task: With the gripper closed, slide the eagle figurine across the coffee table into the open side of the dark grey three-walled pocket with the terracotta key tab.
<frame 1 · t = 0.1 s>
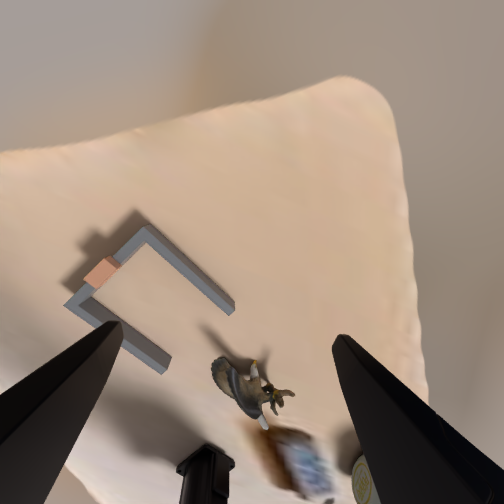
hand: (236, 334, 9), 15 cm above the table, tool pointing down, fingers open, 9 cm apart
pocket: (162, 302, 24), on the table
air freshener: (371, 458, 36), on the table
eagle figurine: (246, 370, 28), on the table
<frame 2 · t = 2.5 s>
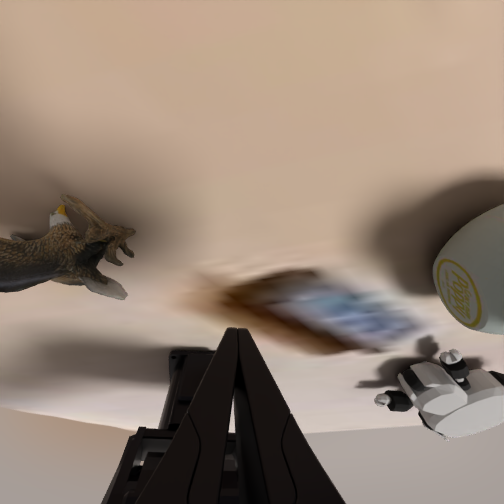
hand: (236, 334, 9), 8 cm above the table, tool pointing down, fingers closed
air freshener: (473, 248, 17), on the table
eagle figurine: (79, 234, 15), on the table
robot toy: (431, 374, 27), on the table
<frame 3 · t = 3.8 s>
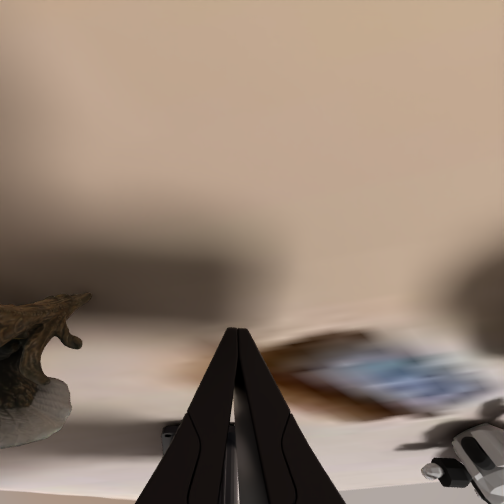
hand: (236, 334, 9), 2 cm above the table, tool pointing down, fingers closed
eagle figurine: (8, 299, 10), on the table
robot toy: (487, 432, 22), on the table
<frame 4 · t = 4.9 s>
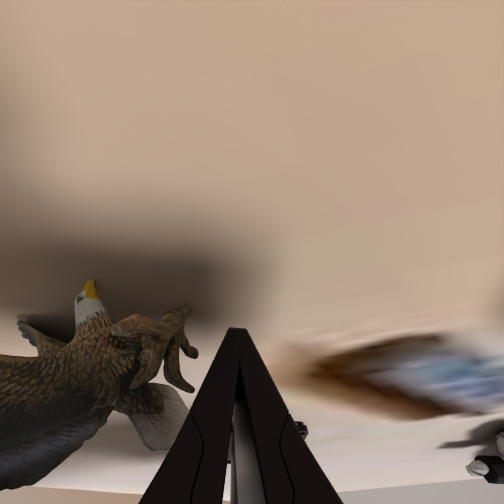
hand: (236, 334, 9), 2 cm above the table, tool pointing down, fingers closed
eagle figurine: (112, 311, 11), on the table, touching gripper
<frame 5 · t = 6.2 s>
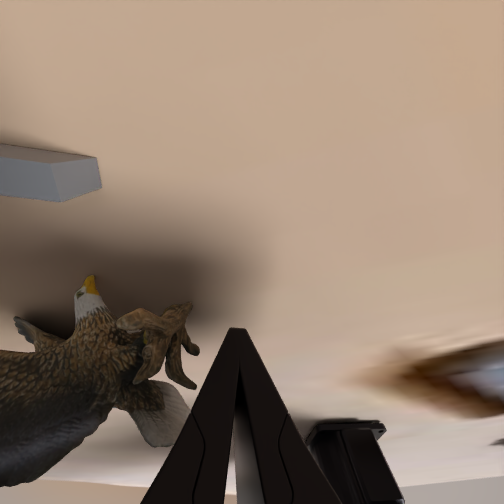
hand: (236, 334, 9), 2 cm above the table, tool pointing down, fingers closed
eagle figurine: (112, 308, 10), on the table, touching gripper, pocket
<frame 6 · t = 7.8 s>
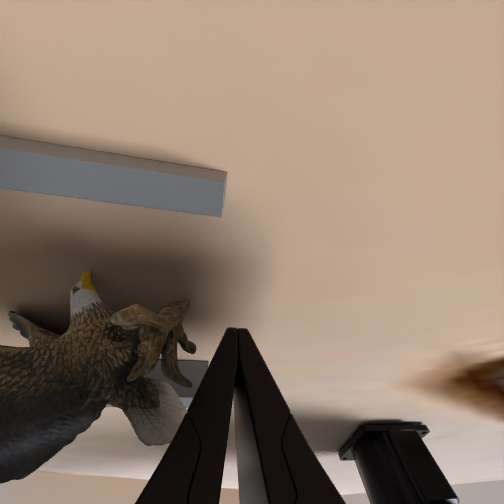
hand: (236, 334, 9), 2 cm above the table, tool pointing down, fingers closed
pocket: (82, 289, 9), on the table
eagle figurine: (108, 304, 10), on the table
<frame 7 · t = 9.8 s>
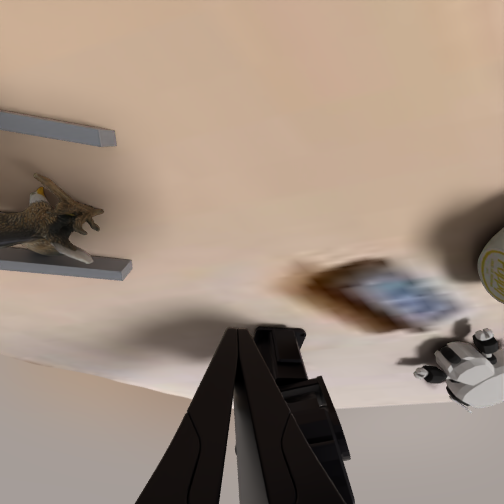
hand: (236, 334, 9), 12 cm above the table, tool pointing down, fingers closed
pocket: (46, 200, 17), on the table
eagle figurine: (57, 212, 18), on the table
robot toy: (459, 354, 32), on the table
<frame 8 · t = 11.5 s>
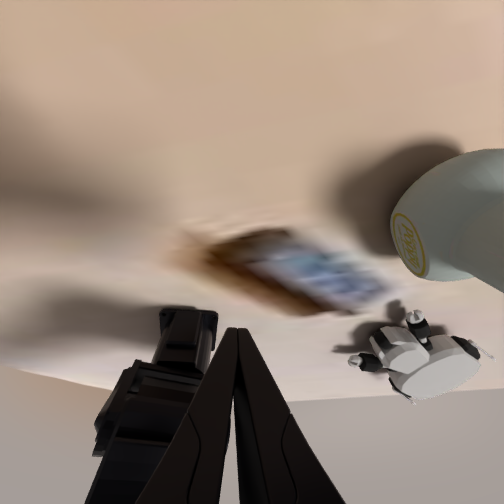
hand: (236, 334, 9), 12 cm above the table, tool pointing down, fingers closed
air freshener: (427, 210, 20), on the table
robot toy: (401, 341, 30), on the table
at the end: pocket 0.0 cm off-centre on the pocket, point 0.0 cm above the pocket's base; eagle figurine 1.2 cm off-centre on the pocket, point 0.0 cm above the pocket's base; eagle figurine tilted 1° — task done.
